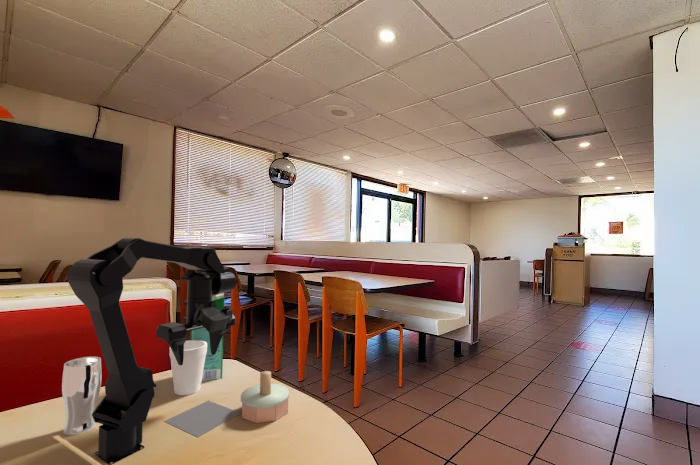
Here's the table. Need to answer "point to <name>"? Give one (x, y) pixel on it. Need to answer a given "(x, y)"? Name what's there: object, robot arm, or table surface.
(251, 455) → the table surface
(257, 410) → the bowl
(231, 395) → the table surface
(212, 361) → the milk carton
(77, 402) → the beer glass
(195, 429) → the mat
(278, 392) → the lid
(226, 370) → the table surface
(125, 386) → the robot arm
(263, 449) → the table surface
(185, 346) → the foam cup
